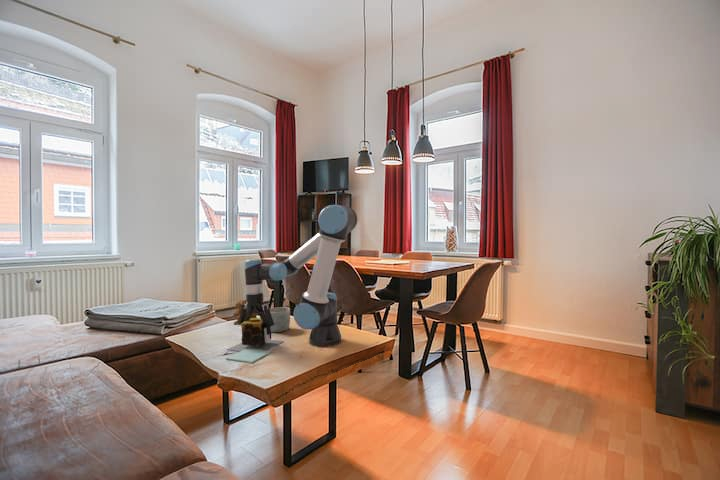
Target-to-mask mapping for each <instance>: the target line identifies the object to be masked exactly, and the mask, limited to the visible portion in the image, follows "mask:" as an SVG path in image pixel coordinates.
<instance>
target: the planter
mask: <svg viewBox="0 0 720 480" xmlns="http://www.w3.org/2000/svg"><path fill="white" fill-rule="evenodd" d="M269 310H270V313H271V316H272V319H273V322H274V325H273V326H271V333H282V332H285V331H288V329H289V328H290V326H291V325H290V324H291V309H290V307H283V306H282V307H281V306H280V307H279V306H277V307H272V308H269Z"/></svg>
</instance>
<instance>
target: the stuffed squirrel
mask: <svg viewBox="0 0 720 480" xmlns="http://www.w3.org/2000/svg"><path fill="white" fill-rule="evenodd" d="M247 303H248V302H247V301H246V299H241V300H238V301H237V302H236V303H235V306H234V309H236V310H235V312H233V313H232V316H233V317H237V319H236V320H235V321H234V322H233V324H234V325H236V324H237V325H239V320H240V315H241V311H242V304H247ZM247 312H248V308H247ZM246 315H247V313H246ZM257 316H258V314H255V313H253V314H252V316H251V318H258V317H257ZM251 318H250V319H251Z"/></svg>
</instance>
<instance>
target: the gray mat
mask: <svg viewBox="0 0 720 480" xmlns="http://www.w3.org/2000/svg"><path fill="white" fill-rule="evenodd" d="M284 342H285V341H284V340H277V339H270V341H268V342H266V343H265V344H263V345H242V342H240V343H238V344H235V345H234V346H231V347H229V348H227V349H226V351H232V352H237V353H238V352H240V351H242V350H244V349H247V348H250V349H258V350H266V351H270V350H271V349H272V348H274V347H277V346H279V345H280V344H282V343H284Z"/></svg>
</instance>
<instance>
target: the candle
mask: <svg viewBox="0 0 720 480" xmlns="http://www.w3.org/2000/svg"><path fill="white" fill-rule="evenodd" d="M240 326H241V343H242V345H263V344H265V335H264V328H265V325H264V323H263V322H262V320H261V318H260V317H257V318H251V319H250V320H247V321H245V322H243V323H241V325H240ZM272 335H273V334H272V333H271V334H270V340H272Z"/></svg>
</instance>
